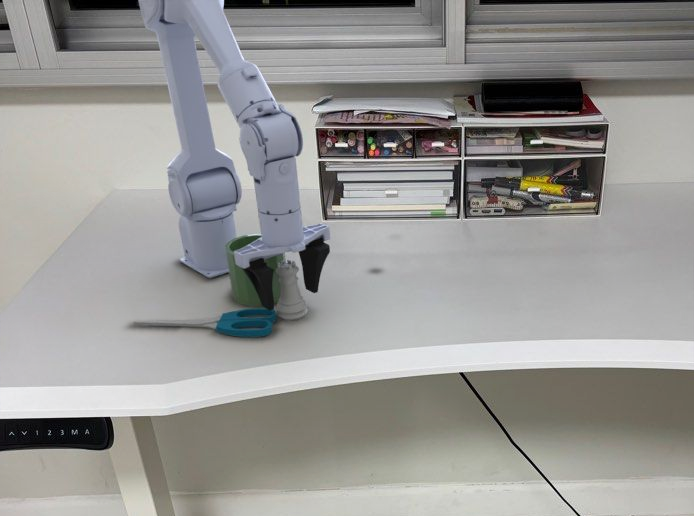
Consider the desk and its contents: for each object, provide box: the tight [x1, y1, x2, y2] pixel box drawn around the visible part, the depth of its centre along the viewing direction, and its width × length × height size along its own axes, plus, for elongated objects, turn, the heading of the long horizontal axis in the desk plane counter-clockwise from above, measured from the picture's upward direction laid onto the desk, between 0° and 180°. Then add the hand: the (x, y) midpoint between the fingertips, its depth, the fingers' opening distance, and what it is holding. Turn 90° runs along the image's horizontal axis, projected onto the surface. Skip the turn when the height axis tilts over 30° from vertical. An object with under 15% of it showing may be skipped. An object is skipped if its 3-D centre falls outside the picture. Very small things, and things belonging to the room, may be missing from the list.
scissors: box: [133, 307, 278, 338], centre depth 112 cm, size 7×1×20 cm
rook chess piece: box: [276, 259, 309, 322], centre depth 113 cm, size 4×4×8 cm
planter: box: [225, 233, 287, 307], centre depth 119 cm, size 8×8×8 cm
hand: (290, 298), depth 114 cm, fingers open, 7 cm apart
